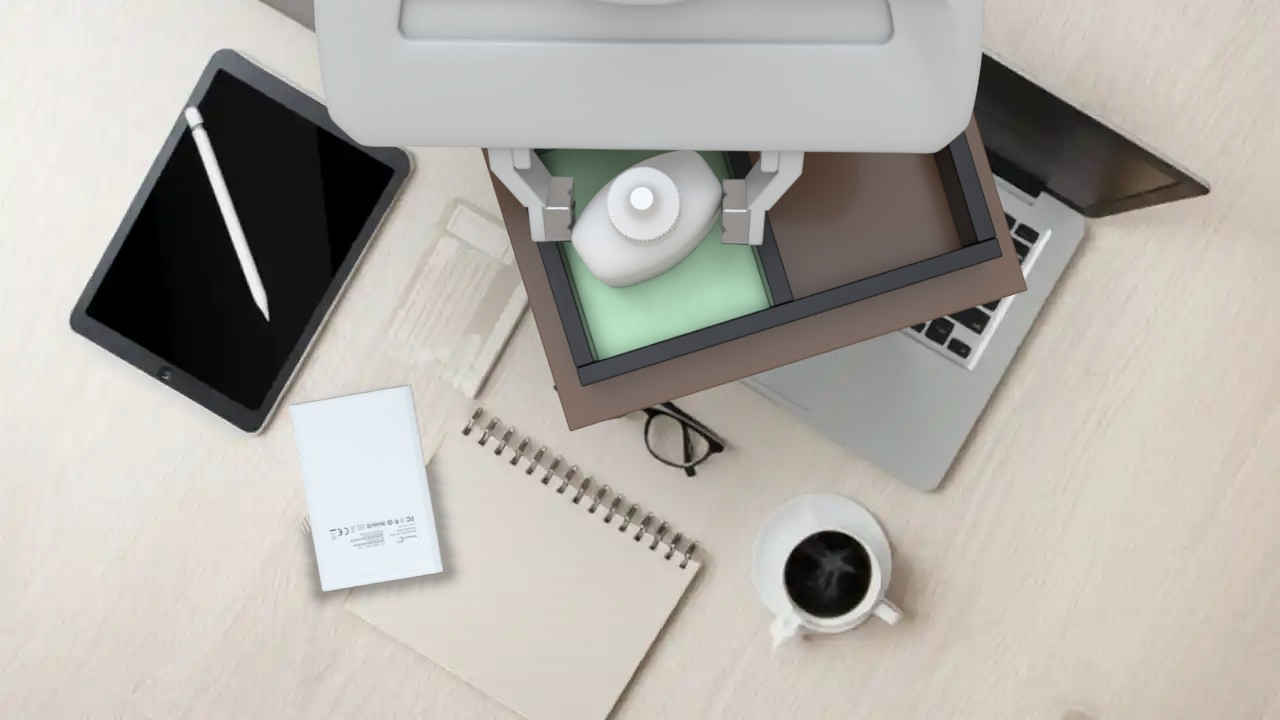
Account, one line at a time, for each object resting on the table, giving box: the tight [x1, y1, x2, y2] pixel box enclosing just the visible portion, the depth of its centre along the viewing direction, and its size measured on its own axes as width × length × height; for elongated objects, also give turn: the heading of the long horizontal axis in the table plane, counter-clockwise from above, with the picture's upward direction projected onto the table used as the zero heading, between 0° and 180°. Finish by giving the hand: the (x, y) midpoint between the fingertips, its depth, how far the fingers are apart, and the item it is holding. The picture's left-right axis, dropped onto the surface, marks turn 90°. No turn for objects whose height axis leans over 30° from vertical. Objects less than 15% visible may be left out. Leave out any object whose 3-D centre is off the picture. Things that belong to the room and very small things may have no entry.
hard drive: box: [288, 384, 444, 592], centre depth 72 cm, size 2×8×12 cm
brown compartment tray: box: [480, 110, 1028, 432], centre depth 45 cm, size 14×20×4 cm
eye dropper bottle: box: [571, 150, 722, 288], centre depth 40 cm, size 4×6×12 cm
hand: (648, 232), depth 40 cm, fingers closed on eye dropper bottle, 5 cm apart
